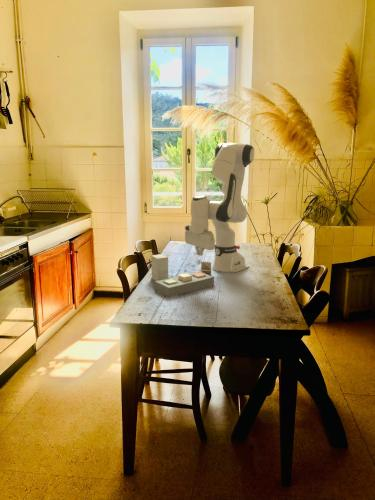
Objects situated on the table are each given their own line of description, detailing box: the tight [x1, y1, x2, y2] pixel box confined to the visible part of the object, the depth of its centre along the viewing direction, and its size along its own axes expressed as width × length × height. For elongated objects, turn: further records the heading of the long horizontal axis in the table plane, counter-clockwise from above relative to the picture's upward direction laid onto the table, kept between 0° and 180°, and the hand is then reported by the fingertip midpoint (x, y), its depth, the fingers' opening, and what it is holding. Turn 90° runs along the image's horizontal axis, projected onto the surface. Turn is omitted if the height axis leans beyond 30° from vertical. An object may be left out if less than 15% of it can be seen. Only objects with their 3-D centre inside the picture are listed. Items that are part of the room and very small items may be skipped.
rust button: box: [193, 273, 206, 278], centre depth 202 cm, size 5×5×4 cm
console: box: [154, 271, 215, 298], centre depth 197 cm, size 28×12×4 cm, turn 127°
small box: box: [151, 253, 169, 282], centre depth 208 cm, size 8×6×13 cm
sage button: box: [163, 279, 177, 285], centre depth 191 cm, size 5×5×4 cm
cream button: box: [178, 273, 192, 282], centre depth 196 cm, size 5×5×4 cm
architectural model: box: [197, 261, 212, 276], centre depth 218 cm, size 3×7×7 cm, turn 78°
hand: (199, 255), depth 199 cm, fingers closed
